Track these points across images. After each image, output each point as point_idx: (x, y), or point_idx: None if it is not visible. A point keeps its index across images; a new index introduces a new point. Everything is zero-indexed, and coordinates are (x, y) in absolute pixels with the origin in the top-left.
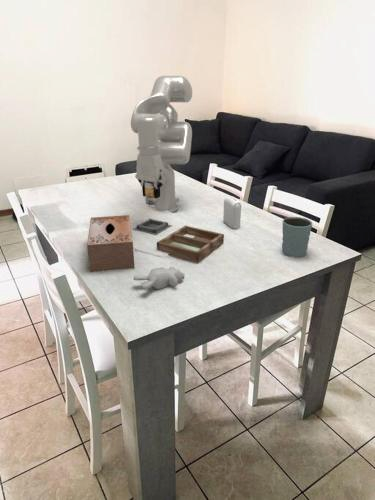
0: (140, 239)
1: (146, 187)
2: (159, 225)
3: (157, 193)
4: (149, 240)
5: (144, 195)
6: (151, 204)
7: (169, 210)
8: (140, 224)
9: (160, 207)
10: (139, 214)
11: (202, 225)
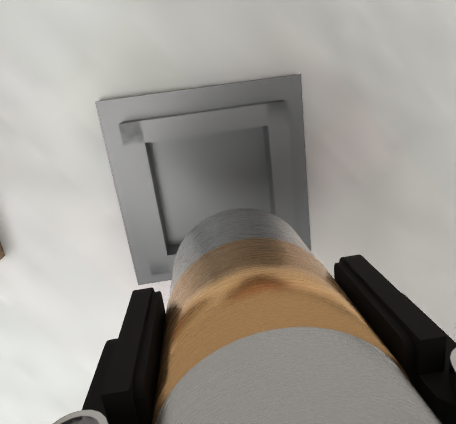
0: (152, 3)
1: (299, 332)
2: None
3: (106, 361)
4: (91, 32)
5: (337, 266)
6: (195, 228)
7: None
8: (277, 133)
9: None
10: (440, 298)
11: (40, 400)
